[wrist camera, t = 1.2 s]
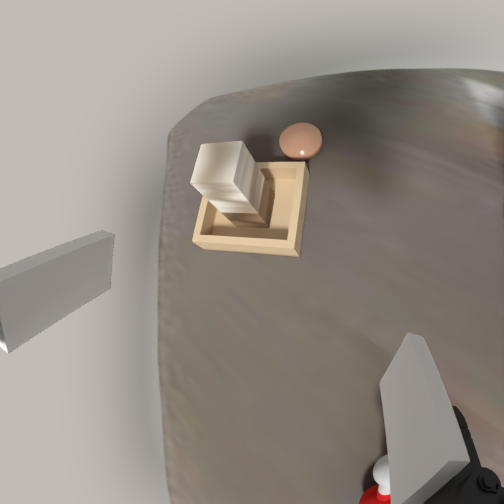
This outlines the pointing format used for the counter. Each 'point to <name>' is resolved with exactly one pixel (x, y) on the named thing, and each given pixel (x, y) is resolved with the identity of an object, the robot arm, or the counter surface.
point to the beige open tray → (282, 221)
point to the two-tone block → (234, 184)
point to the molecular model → (379, 484)
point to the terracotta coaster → (301, 141)
